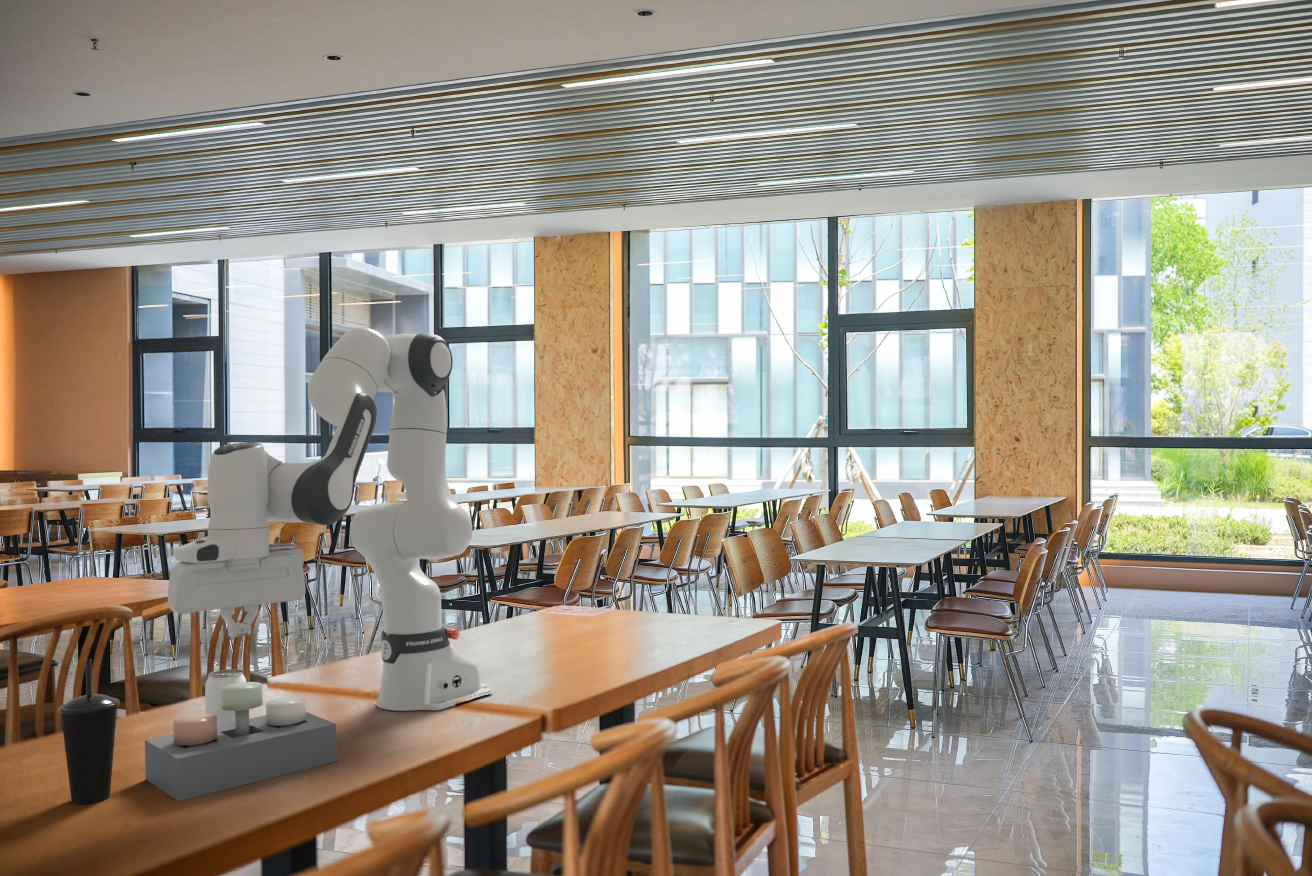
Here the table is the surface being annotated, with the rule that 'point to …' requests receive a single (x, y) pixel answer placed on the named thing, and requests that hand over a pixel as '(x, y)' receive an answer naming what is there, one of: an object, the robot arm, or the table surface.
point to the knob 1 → (195, 729)
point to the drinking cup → (89, 743)
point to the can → (214, 693)
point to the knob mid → (241, 703)
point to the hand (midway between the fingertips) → (239, 635)
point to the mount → (239, 756)
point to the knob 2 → (285, 711)
